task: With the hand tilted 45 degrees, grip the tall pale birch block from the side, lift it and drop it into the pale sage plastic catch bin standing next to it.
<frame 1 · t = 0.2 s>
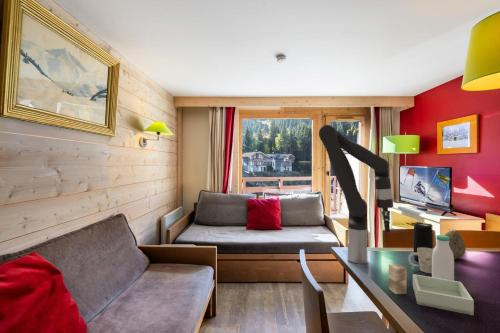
hand: (387, 230, 132), 18 cm above the table, tool pointing down, fingers open, 8 cm apart
milk bottle: (442, 282, 113), on the table
decorative egg: (452, 258, 142), on the table
birch block: (397, 291, 105), on the table
catch bin: (439, 299, 99), on the table
mug: (422, 271, 125), on the table
portable speaker: (422, 260, 139), on the table
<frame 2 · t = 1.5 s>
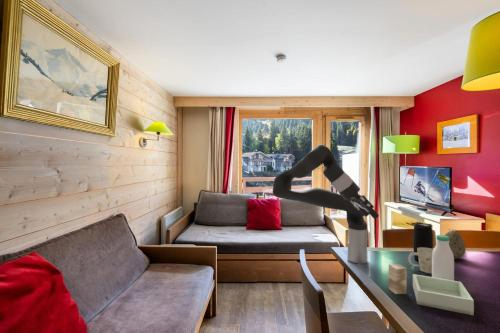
hand: (372, 216, 106), 30 cm above the table, tool tilted 40°, fingers open, 8 cm apart
nothing on the table moved.
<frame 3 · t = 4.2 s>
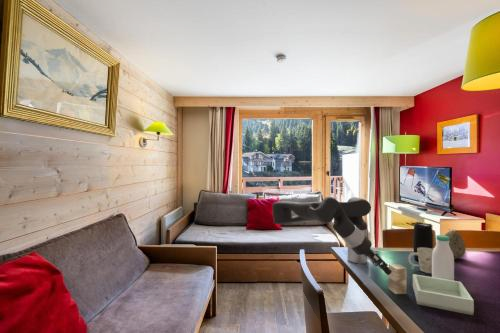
hand: (383, 268, 104), 10 cm above the table, tool tilted 45°, fingers open, 8 cm apart
nothing on the table moved.
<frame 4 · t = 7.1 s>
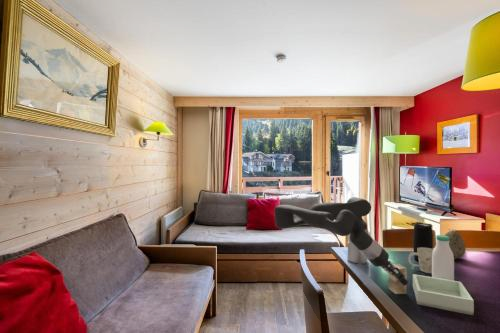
hand: (402, 280, 105), 4 cm above the table, tool tilted 45°, fingers closed on birch block, 4 cm apart
birch block: (397, 291, 105), on the table, touching gripper
everything else where it was.
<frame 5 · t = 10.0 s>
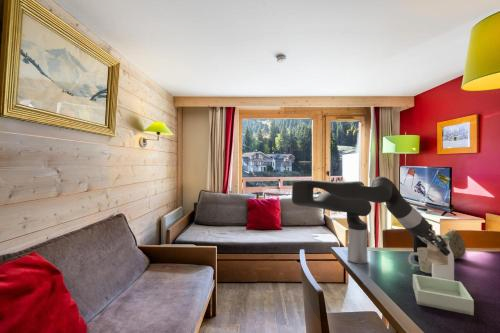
hand: (442, 251, 99), 18 cm above the table, tool tilted 45°, fingers closed on birch block, 4 cm apart
birch block: (437, 262, 99), point 14 cm above the table, touching gripper
everything else where it was.
when the fingers open (8 cm above the table, at t = 12.9 s): birch block drops 2 cm, resting on catch bin.
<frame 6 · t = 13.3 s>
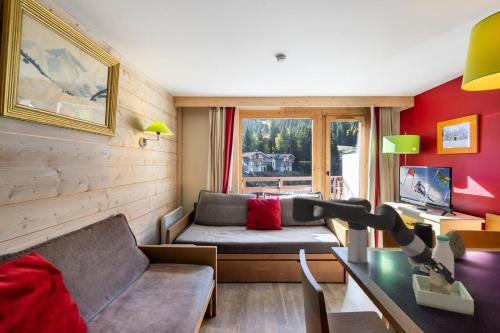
hand: (443, 277, 99), 8 cm above the table, tool tilted 45°, fingers open, 8 cm apart
birch block: (439, 296, 99), point 1 cm above the table, touching catch bin
everything else where it was.
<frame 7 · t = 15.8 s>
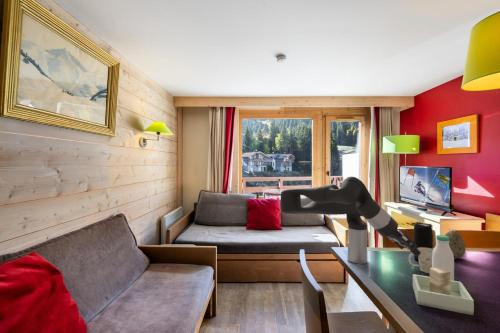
hand: (410, 250, 98), 18 cm above the table, tool tilted 45°, fingers open, 8 cm apart
nothing on the table moved.
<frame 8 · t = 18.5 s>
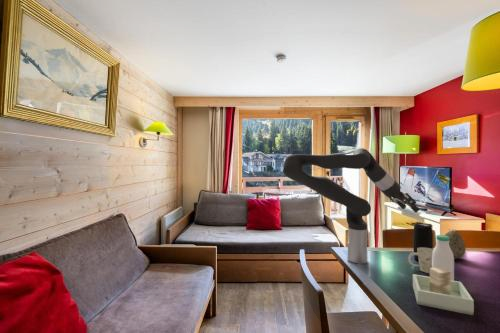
hand: (410, 209, 118), 31 cm above the table, tool tilted 45°, fingers open, 8 cm apart
nothing on the table moved.
at the end: birch block inside the target area on the catch bin (0.1 cm from its centre), point 1.0 cm above the catch bin's base; the gripper is holding nothing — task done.
